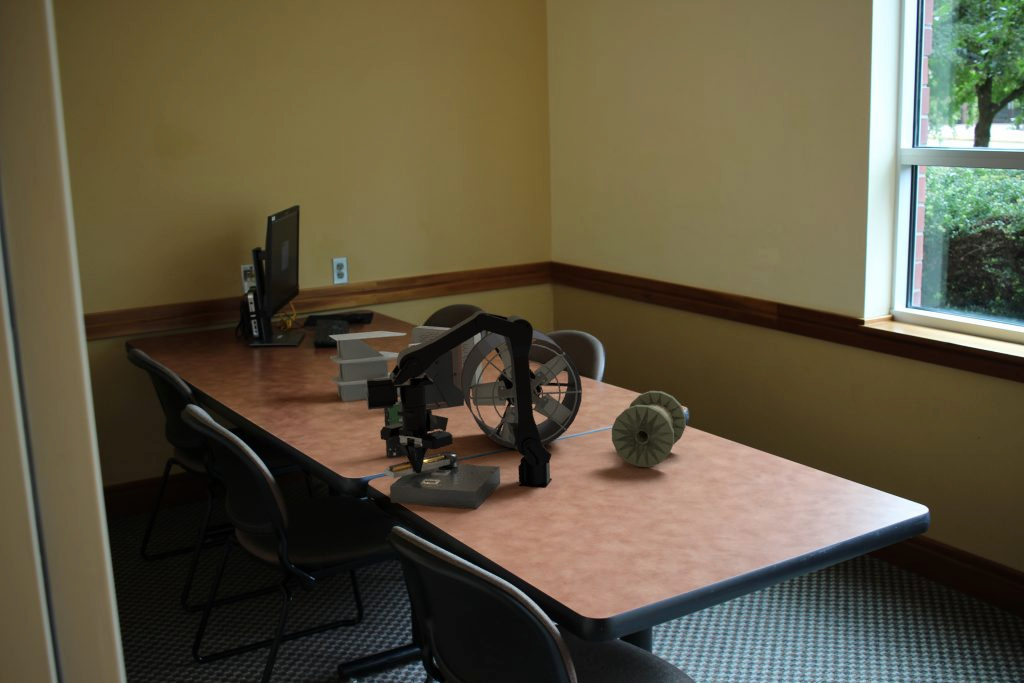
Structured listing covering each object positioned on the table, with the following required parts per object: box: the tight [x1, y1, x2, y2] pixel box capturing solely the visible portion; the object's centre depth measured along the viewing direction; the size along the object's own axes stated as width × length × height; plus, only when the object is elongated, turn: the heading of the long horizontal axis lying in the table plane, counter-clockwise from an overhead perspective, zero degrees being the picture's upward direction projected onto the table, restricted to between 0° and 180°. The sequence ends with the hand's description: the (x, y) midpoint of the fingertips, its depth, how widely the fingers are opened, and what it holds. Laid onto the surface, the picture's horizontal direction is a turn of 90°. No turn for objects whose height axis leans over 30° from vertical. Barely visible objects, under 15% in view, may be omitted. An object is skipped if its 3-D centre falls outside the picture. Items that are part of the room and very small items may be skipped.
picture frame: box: [407, 343, 465, 411], centre depth 298 cm, size 16×2×22 cm, turn 119°
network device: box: [411, 325, 483, 388], centre depth 330 cm, size 26×9×20 cm, turn 58°
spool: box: [611, 390, 687, 468], centre depth 248 cm, size 16×15×15 cm
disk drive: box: [383, 400, 407, 459], centre depth 254 cm, size 10×3×15 cm, turn 119°
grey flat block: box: [389, 463, 501, 510], centre depth 226 cm, size 20×18×4 cm
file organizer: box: [329, 330, 407, 402], centre depth 314 cm, size 26×35×22 cm
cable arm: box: [383, 450, 459, 479], centre depth 229 cm, size 4×18×3 cm, turn 128°
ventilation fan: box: [461, 328, 583, 450], centre depth 263 cm, size 30×18×30 cm, turn 99°
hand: (418, 472), depth 225 cm, fingers closed
